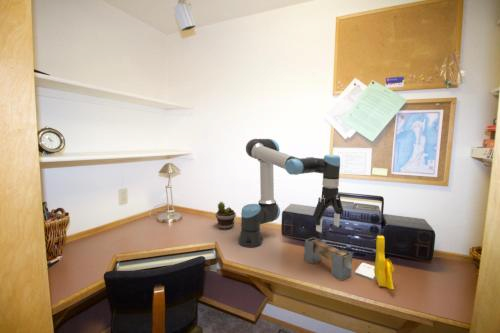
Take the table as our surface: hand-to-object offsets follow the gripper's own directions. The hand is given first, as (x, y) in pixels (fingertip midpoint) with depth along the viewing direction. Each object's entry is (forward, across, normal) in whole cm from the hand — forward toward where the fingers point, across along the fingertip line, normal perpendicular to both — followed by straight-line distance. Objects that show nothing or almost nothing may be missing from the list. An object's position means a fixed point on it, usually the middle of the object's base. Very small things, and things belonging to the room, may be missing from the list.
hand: (327, 228), depth 117 cm
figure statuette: (+20, +10, -24) cm, 33 cm away
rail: (+14, 0, -1) cm, 14 cm away
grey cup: (+20, 0, -8) cm, 22 cm away
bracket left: (+20, 0, +8) cm, 22 cm away
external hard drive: (+21, +14, -14) cm, 29 cm away
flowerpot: (+21, -17, +76) cm, 80 cm away
